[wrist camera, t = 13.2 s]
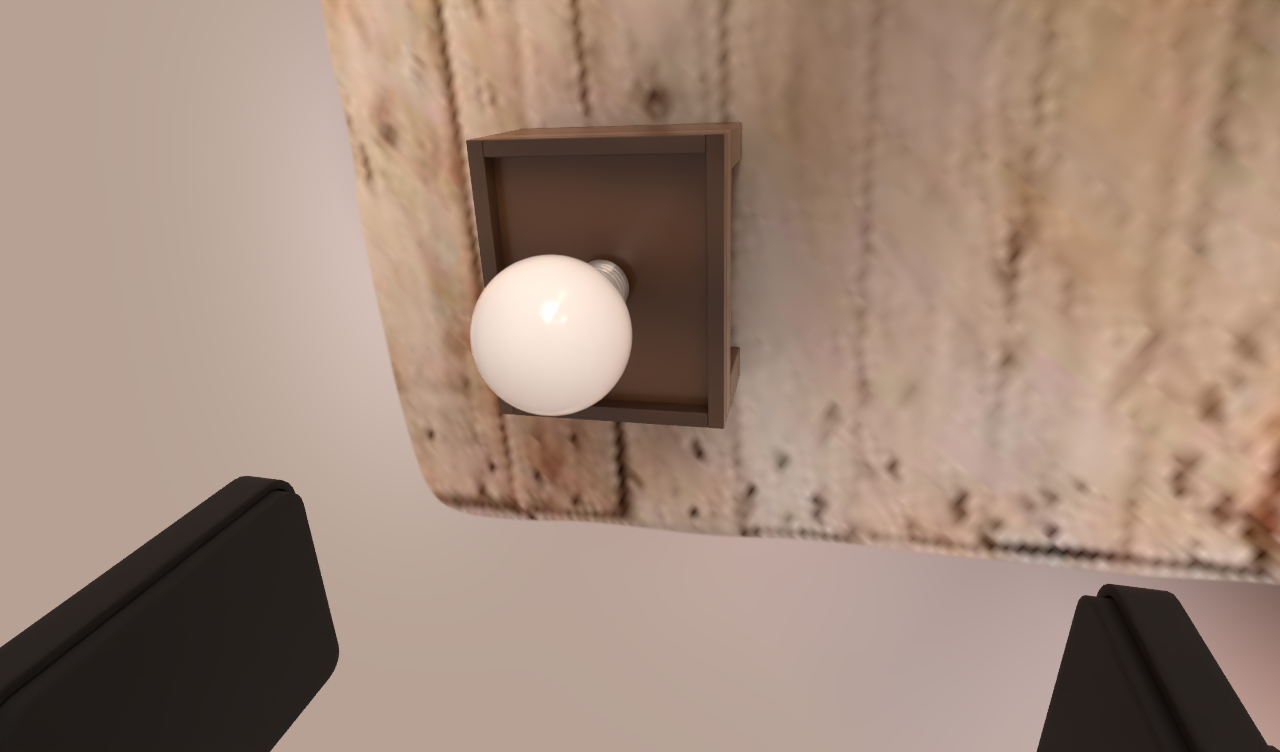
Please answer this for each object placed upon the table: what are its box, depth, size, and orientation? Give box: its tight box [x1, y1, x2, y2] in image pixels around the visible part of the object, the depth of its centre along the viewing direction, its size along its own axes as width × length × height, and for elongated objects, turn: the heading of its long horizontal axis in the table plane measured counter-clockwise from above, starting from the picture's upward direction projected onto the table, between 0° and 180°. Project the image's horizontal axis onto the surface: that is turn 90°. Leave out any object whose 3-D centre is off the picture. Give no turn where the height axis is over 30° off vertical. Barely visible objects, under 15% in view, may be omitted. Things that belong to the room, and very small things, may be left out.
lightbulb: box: [470, 254, 632, 416], centre depth 31 cm, size 6×6×11 cm
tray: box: [466, 123, 742, 429], centre depth 38 cm, size 14×12×7 cm
